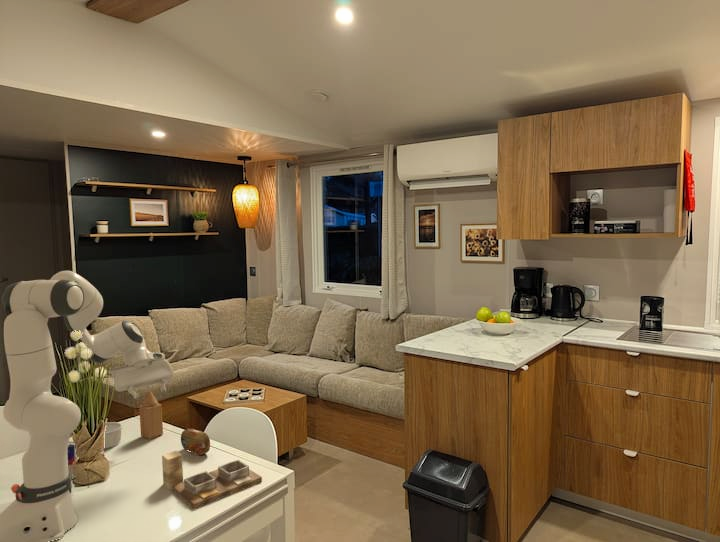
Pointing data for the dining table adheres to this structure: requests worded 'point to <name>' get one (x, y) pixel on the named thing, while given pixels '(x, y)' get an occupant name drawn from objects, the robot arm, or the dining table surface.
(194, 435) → the tin
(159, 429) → the decorative item
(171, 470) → the wooden plug
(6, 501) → the dining table surface
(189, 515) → the dining table surface
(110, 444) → the ramekin
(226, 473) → the socket board
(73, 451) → the energy drink
